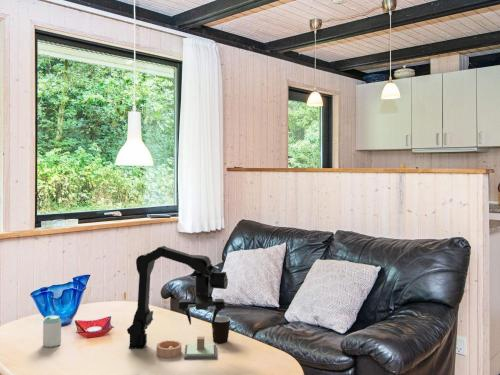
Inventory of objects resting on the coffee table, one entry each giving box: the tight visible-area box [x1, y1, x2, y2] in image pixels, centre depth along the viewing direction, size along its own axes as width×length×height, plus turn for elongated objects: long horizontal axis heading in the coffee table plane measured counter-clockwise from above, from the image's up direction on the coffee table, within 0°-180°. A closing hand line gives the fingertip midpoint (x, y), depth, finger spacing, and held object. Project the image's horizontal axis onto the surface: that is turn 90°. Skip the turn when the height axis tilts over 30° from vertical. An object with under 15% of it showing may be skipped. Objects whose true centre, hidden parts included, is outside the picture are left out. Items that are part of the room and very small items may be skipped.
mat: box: [183, 344, 218, 360], centre depth 198 cm, size 13×13×1 cm
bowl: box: [155, 339, 182, 359], centre depth 197 cm, size 10×10×4 cm
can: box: [42, 314, 62, 348], centre depth 203 cm, size 7×7×12 cm
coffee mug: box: [210, 315, 231, 345], centre depth 214 cm, size 12×9×10 cm
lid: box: [187, 336, 215, 356], centre depth 198 cm, size 11×11×5 cm
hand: (201, 324), depth 198 cm, fingers open, 9 cm apart
